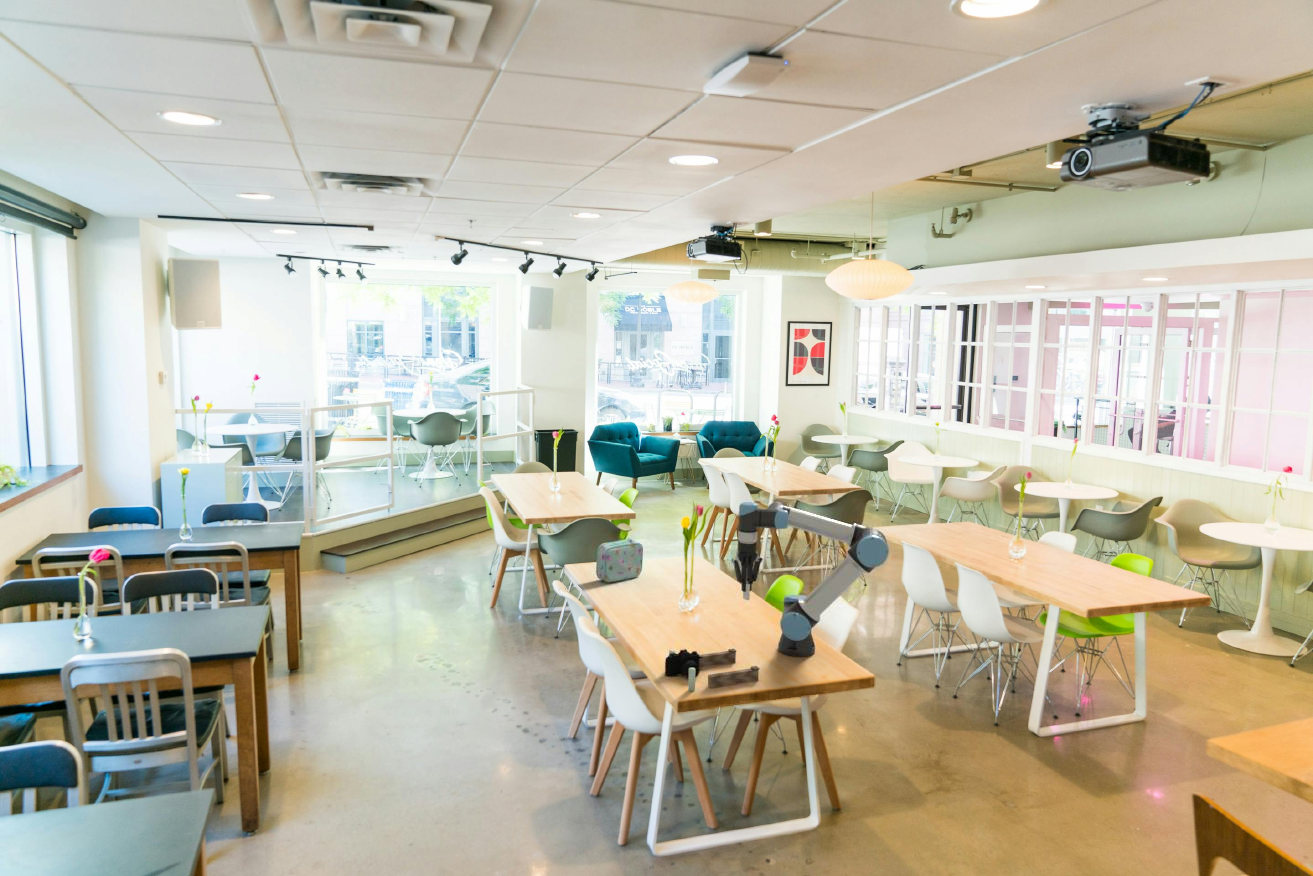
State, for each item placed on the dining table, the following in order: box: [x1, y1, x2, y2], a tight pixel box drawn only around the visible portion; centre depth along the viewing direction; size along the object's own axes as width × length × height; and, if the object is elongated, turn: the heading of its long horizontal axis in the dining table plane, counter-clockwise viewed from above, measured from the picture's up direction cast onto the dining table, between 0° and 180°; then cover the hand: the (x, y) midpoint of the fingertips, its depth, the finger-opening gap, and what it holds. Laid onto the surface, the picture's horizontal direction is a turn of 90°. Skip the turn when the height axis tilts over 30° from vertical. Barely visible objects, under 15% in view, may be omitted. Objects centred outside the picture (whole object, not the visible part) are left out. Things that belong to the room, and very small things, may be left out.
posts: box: [668, 649, 696, 692], centre depth 310 cm, size 2×21×8 cm, turn 22°
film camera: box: [664, 648, 703, 679], centre depth 315 cm, size 15×10×9 cm, turn 114°
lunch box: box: [595, 538, 644, 584], centre depth 443 cm, size 27×10×21 cm, turn 130°
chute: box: [699, 648, 760, 689], centre depth 317 cm, size 20×21×5 cm
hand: (746, 599), depth 331 cm, fingers closed
